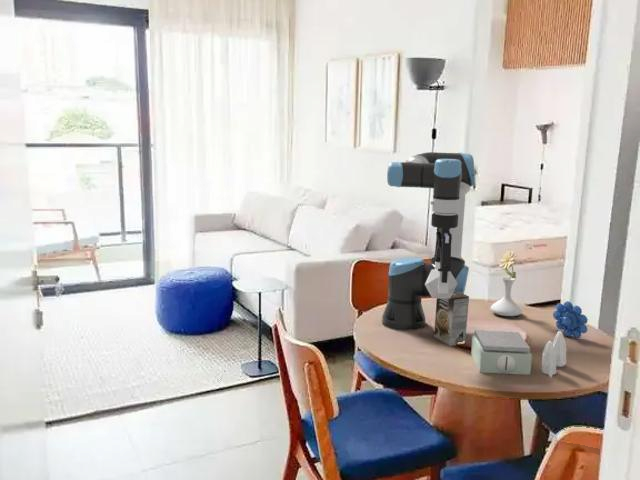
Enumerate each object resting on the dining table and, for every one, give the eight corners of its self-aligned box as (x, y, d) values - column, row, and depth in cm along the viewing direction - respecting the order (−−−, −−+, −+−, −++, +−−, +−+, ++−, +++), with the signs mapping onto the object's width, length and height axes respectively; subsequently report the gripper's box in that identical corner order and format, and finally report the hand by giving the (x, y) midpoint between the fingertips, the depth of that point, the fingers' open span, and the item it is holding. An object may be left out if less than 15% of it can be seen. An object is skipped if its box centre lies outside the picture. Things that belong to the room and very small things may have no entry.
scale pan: (474, 334, 180) (474, 330, 180) (518, 335, 179) (518, 332, 179) (482, 349, 168) (483, 345, 167) (529, 352, 167) (530, 348, 166)
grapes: (545, 335, 200) (549, 300, 198) (554, 330, 205) (557, 297, 202) (580, 344, 192) (584, 308, 190) (588, 339, 197) (592, 304, 194)
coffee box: (433, 337, 196) (436, 289, 193) (449, 334, 198) (452, 288, 195) (449, 346, 188) (452, 297, 185) (466, 344, 190) (469, 295, 187)
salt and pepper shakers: (554, 361, 177) (558, 326, 175) (568, 365, 175) (572, 329, 172) (537, 372, 169) (541, 336, 167) (552, 377, 166) (555, 339, 164)
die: (448, 305, 169) (466, 276, 171) (422, 289, 170) (439, 259, 172) (442, 307, 178) (458, 279, 179) (416, 291, 178) (433, 263, 180)
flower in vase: (488, 308, 228) (493, 245, 223) (518, 310, 226) (524, 246, 222) (493, 319, 215) (498, 252, 210) (525, 321, 214) (531, 253, 209)
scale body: (471, 353, 182) (472, 333, 181) (517, 355, 181) (519, 335, 180) (480, 373, 168) (481, 351, 166) (530, 375, 167) (532, 353, 165)
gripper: (427, 207, 182) (424, 277, 186) (436, 219, 160) (432, 298, 164) (452, 207, 181) (448, 278, 186) (464, 219, 159) (459, 299, 164)
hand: (440, 287), depth 175 cm, fingers closed on die, 10 cm apart
